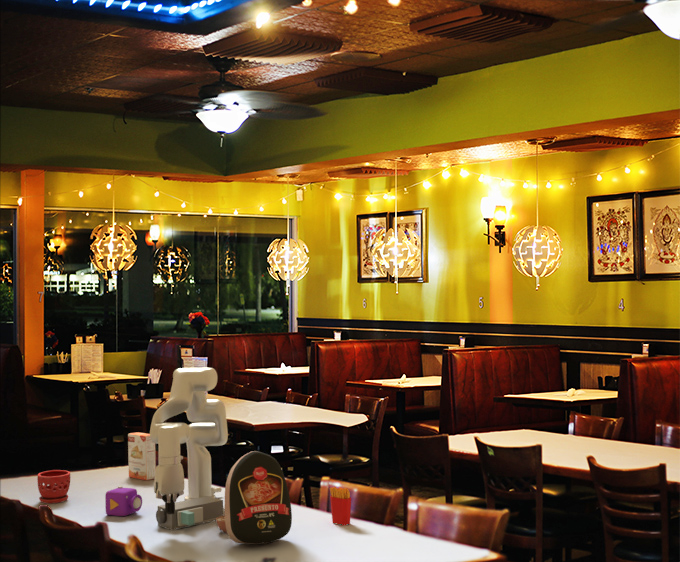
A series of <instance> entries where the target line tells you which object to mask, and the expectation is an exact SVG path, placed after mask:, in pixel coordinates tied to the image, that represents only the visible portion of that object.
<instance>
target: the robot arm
mask: <svg viewBox="0 0 680 562" xmlns="http://www.w3.org/2000/svg"><path fill="white" fill-rule="evenodd" d="M172 373H173V374H172V378H173V379H172V385H171V388H170V393H169V399H168V400H166V401H165V402H164V403H162V405H161V406H159V407H158V409H157V410H156V411H155V412H154V414H153V416H152V419H151V424H150V430H149V434H150V439H151V441H152V442H153V443H155V445H157V444H158V465H156V471H155V478H154V479H153V492H154V494H155V498H156V499H158V500H159V499H160V500H162V501H163V502H164V505H165V511H166V514H174V511H175V503H176V502H177V500H178V498H179V497H180V496H183V495H184V493H185V475H184V474H185V473H184V468H183V464H182V463H181V462H182V460H184V456H183V455H181V445H182V444H186V450H187V481H188V483H187V484H188V485H187V487H188V488H187V494H188V495H186V496H185V497H184V501H186V500H191V499H197V498H202V497H207V496H209V497H213V498H216V495H215V494H216V493H221V492H222V490H223V489H222V487H221V486H218V487H215V486H212V457H211V454H210V451H208V449H207V448H206V447H219V446H223V445H225V444H227V442H228V437H229V436H228V435H229V433H228V431H229V430H228V422H227V421H228V420H227V412H226V406H225V403H224V401H222V400H220V399H214V398H212V399H207V395H206V392H209V391H211V390H213V389H215V387H216V386H217V383H218V372H217V370H216V369H215V368H213V367H182V368H181V367H179V368H176V369H174V371H173V372H172ZM184 412H186V417H187V420H188V421H189V422H191V423H190V424H187V423H185V422H165V421H167V420H168V419H170V418H173V417H174V416H175V417H176V416H177V415H179V414H183V413H184Z"/></svg>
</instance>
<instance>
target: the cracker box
mask: <svg viewBox="0 0 680 562" xmlns="http://www.w3.org/2000/svg"><path fill="white" fill-rule="evenodd" d="M127 446H128V447H127V448H128V449H127V451H128V452H127V453H128V457H127V459H128V477H129V478H132V479H136V480H142V481H150V480H154V478H155V471H156V466H157V465H156V463H157V461H156V459H157V458H156V457H157V456H156V443H153V442H152V441H151V439H150V433H145V432H139V431H138V432H130V433H128V434H127Z"/></svg>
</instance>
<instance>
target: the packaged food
mask: <svg viewBox="0 0 680 562" xmlns="http://www.w3.org/2000/svg"><path fill="white" fill-rule="evenodd" d="M287 485H288V484H287V481H286V477H285V475H284V471H283V469H282V467H281V465H280V464H279V462H278V461H277V459H276V458H275V457H273V456H272V455H270V454H268V453H264V452H261V451H257V450H254V451H250V452H247V453H246V454H244V455H243V456H241V457H240V458H239V459H238V460H237V461H236V462H235V463H234V464H233V465H232V467H231V468H230V470H229V473H228V476H227V477H226V482H225V489H224V515H225V524H226V530H227V532H226V534H227V536H228V537H229V538H230V541H232V542H233V543H236V544H240V545H243V544H245V545H247V544H254V545H257V544H270V543H273V542H275V541H278V540H282V539H283V538H284V537H286V536H287V535H288V534H289V532H290V531H291V527H292V523H293V522H292V521H293V515H292V514H293V513H292V504H291V498H290V493H289V489H288V486H287Z"/></svg>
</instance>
